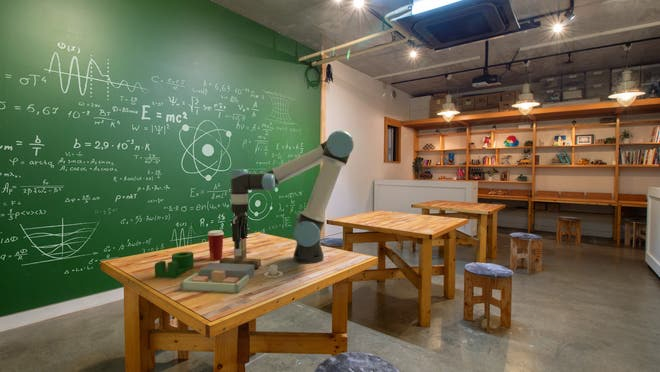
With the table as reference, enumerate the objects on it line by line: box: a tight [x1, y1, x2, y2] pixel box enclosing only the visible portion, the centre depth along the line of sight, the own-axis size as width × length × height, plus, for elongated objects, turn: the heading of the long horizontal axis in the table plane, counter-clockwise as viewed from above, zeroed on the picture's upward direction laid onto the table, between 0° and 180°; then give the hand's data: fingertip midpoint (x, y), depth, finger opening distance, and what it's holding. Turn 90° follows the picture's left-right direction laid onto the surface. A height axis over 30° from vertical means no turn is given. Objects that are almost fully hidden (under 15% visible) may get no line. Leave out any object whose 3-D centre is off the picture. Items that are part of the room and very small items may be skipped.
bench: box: [198, 262, 255, 281], centre depth 134 cm, size 20×9×4 cm, turn 83°
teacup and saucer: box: [263, 264, 284, 278], centre depth 139 cm, size 9×8×4 cm
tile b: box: [211, 270, 225, 283], centre depth 126 cm, size 4×4×2 cm
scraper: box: [219, 238, 262, 269], centre depth 147 cm, size 18×4×12 cm, turn 82°
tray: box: [179, 272, 250, 294], centre depth 124 cm, size 22×11×3 cm, turn 82°
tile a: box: [222, 277, 239, 284], centre depth 123 cm, size 4×4×2 cm
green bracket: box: [154, 251, 195, 279], centre depth 143 cm, size 18×9×6 cm, turn 175°
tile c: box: [191, 276, 208, 282], centre depth 124 cm, size 4×4×2 cm
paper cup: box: [206, 229, 225, 262], centre depth 161 cm, size 8×8×14 cm
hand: (240, 254), depth 147 cm, fingers closed on scraper, 4 cm apart
